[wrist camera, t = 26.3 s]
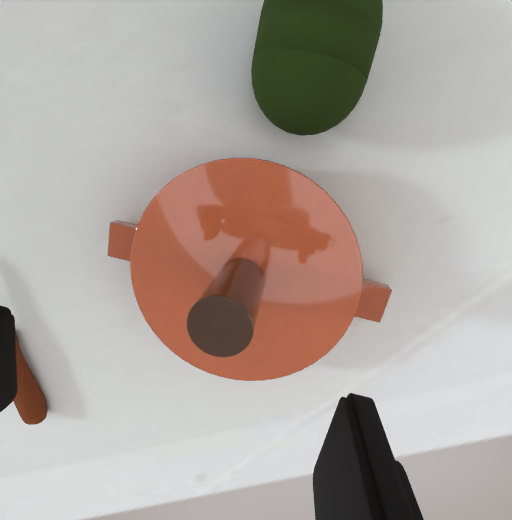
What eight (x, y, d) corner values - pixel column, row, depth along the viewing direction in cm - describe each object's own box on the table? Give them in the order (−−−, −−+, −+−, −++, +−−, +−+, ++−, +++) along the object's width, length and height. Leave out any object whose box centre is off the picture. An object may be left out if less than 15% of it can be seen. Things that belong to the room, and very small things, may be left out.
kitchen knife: (53, 412, 29) (36, 429, 27) (41, 413, 29) (23, 430, 27) (-15, 252, 25) (-41, 258, 23) (-29, 254, 25) (-55, 261, 23)
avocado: (277, -18, 18) (270, -110, 12) (380, 2, 17) (424, -83, 11) (249, 129, 20) (231, 112, 14) (339, 149, 20) (359, 139, 14)
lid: (151, 135, 18) (66, 112, 11) (391, 188, 18) (455, 198, 11) (129, 341, 23) (58, 415, 16) (322, 392, 22) (336, 492, 15)
